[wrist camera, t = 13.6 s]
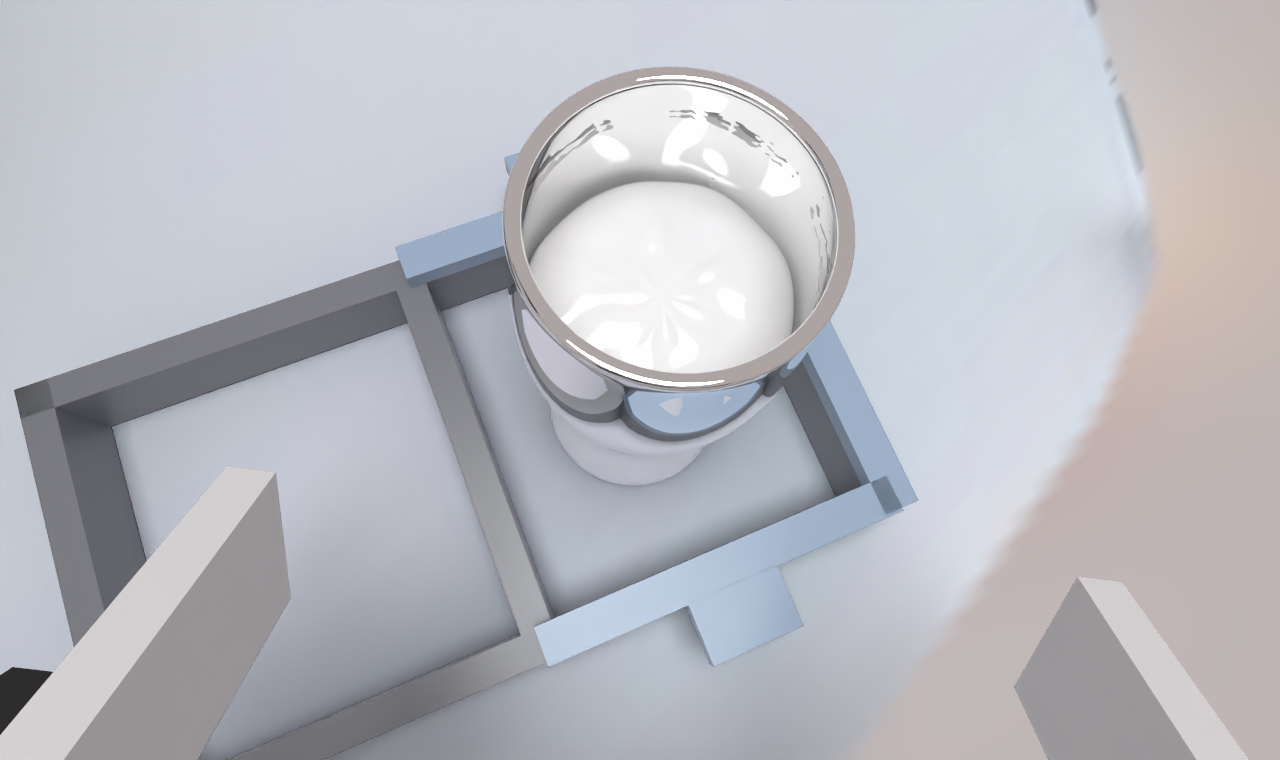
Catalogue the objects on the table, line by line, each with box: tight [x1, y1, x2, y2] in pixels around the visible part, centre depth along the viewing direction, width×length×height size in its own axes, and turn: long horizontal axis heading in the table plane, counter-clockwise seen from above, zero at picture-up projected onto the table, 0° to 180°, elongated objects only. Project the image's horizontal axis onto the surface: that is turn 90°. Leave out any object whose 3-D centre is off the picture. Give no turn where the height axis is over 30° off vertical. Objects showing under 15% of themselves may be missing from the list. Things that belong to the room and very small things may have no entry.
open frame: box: [14, 153, 918, 760], centre depth 26 cm, size 18×25×4 cm
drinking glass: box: [502, 67, 855, 486], centre depth 21 cm, size 7×7×15 cm
